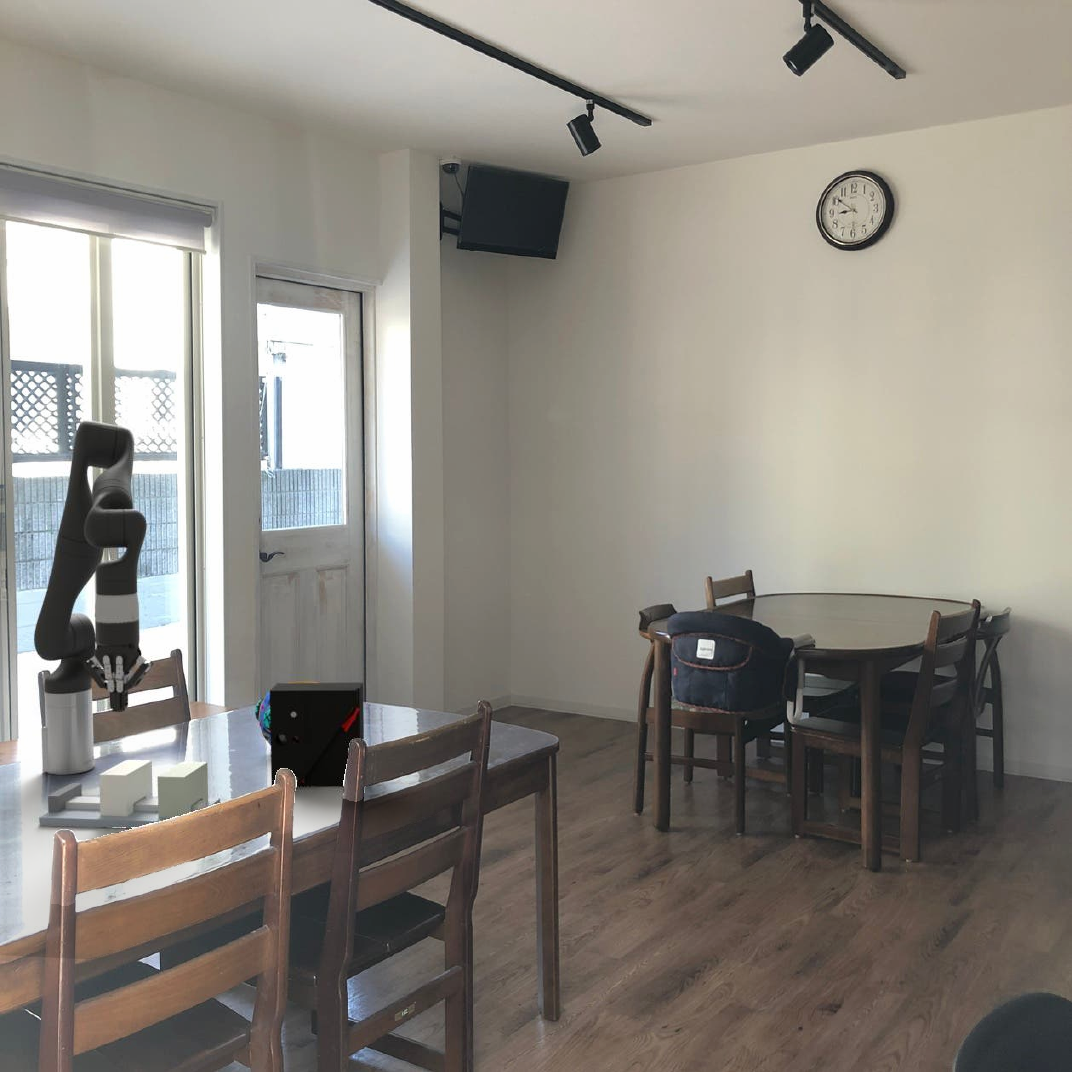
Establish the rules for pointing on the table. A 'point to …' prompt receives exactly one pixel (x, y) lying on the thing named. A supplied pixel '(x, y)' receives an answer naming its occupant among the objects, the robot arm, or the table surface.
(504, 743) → the table surface
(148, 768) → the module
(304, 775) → the electrical component
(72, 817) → the mounting plate
